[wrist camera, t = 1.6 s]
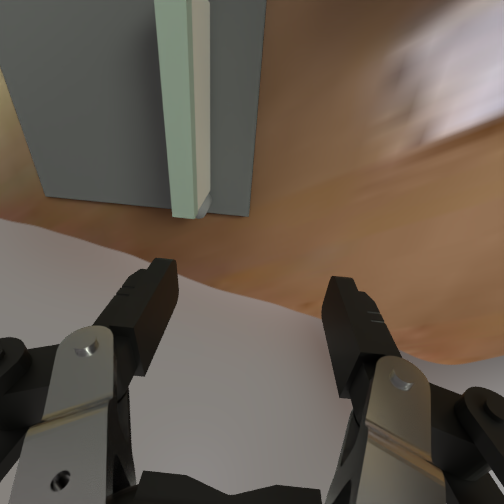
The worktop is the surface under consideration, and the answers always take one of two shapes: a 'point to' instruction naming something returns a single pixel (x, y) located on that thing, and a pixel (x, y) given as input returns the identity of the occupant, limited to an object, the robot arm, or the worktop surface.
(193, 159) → the gate
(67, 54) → the gate frame
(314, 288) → the worktop surface
